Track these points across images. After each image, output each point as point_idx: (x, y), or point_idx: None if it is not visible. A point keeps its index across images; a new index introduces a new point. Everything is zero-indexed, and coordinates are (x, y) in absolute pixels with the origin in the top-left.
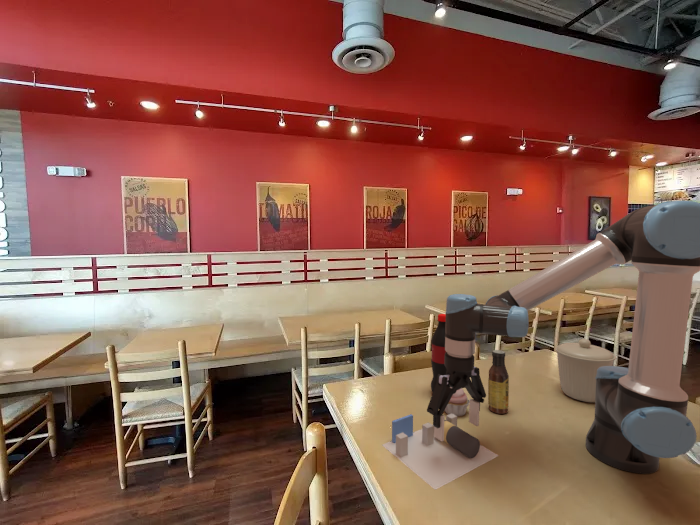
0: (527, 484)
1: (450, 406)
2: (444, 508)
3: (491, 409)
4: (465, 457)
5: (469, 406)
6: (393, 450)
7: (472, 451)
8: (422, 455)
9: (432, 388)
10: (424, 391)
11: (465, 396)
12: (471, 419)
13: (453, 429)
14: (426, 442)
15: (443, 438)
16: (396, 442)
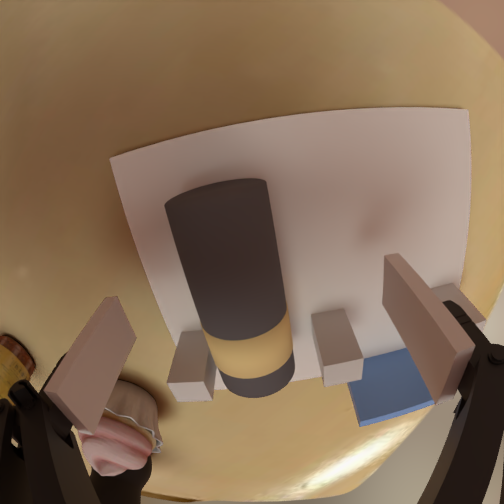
0: (128, 11)
1: (145, 422)
2: (466, 55)
3: (29, 362)
4: None
5: (107, 399)
6: None
7: (224, 187)
8: None
9: (150, 468)
10: (165, 463)
11: None
12: (123, 338)
13: (254, 320)
14: (346, 318)
15: (392, 260)
16: None
